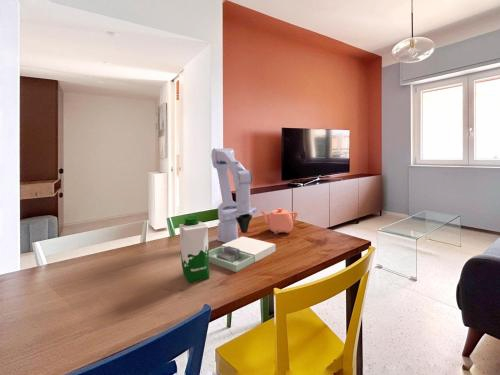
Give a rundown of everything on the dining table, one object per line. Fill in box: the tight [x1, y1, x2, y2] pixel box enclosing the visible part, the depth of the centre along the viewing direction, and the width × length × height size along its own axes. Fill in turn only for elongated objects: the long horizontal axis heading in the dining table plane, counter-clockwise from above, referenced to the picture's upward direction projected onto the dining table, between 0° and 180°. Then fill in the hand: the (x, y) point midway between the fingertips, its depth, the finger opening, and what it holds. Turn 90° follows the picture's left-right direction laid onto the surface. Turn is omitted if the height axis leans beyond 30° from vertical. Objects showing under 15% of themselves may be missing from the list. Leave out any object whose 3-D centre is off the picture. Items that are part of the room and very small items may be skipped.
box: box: [208, 246, 255, 273], centre depth 103 cm, size 18×10×3 cm, turn 51°
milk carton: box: [178, 216, 210, 284], centre depth 90 cm, size 9×9×20 cm
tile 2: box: [224, 246, 240, 261], centre depth 105 cm, size 6×4×2 cm
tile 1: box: [216, 252, 235, 263], centre depth 102 cm, size 6×4×2 cm, turn 51°
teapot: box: [259, 207, 299, 235], centre depth 139 cm, size 13×20×12 cm, turn 97°
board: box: [221, 236, 277, 263], centre depth 113 cm, size 18×14×3 cm
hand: (244, 232), depth 111 cm, fingers closed
